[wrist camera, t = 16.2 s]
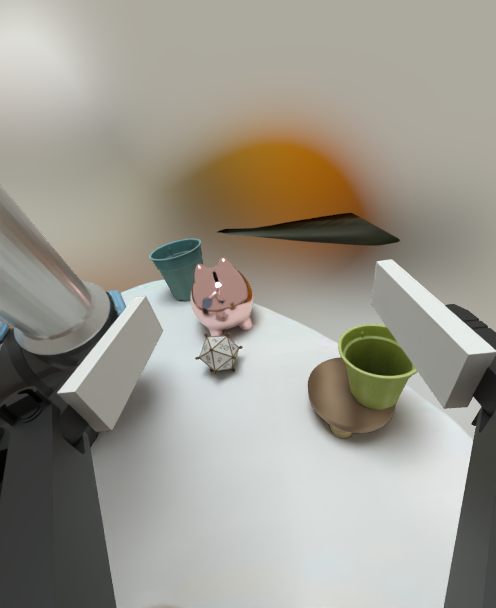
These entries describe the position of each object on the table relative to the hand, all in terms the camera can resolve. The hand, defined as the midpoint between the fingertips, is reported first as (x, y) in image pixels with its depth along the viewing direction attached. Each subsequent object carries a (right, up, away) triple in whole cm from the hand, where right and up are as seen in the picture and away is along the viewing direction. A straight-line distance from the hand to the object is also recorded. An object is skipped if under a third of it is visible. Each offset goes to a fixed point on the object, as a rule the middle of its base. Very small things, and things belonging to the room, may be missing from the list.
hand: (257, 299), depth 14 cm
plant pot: (+17, -13, +21) cm, 30 cm away
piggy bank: (-6, -5, +50) cm, 51 cm away
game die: (-6, -14, +37) cm, 39 cm away
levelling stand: (+15, -16, +24) cm, 33 cm away
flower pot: (-20, +4, +69) cm, 72 cm away
